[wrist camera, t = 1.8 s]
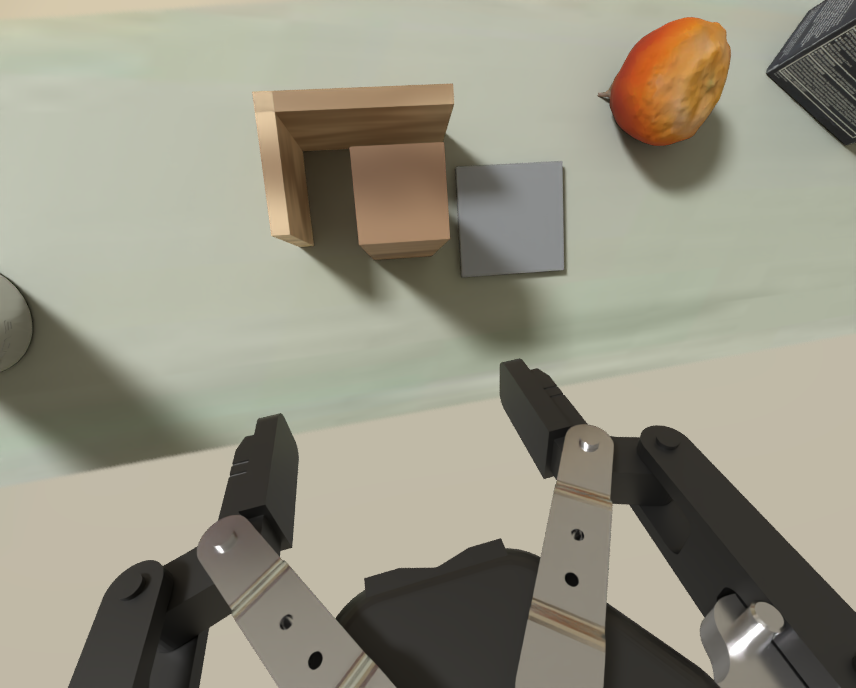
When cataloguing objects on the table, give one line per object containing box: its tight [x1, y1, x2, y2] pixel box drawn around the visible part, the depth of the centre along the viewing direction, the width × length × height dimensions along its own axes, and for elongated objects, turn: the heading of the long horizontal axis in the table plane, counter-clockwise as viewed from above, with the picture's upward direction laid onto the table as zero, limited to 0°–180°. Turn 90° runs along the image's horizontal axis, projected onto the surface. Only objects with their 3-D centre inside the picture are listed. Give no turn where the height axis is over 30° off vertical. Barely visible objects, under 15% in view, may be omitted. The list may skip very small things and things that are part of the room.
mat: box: [455, 161, 564, 277], centre depth 32 cm, size 9×9×1 cm
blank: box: [349, 142, 450, 260], centre depth 26 cm, size 5×5×12 cm
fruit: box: [597, 17, 731, 146], centre depth 29 cm, size 8×8×8 cm
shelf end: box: [252, 84, 454, 247], centre depth 28 cm, size 9×13×7 cm
